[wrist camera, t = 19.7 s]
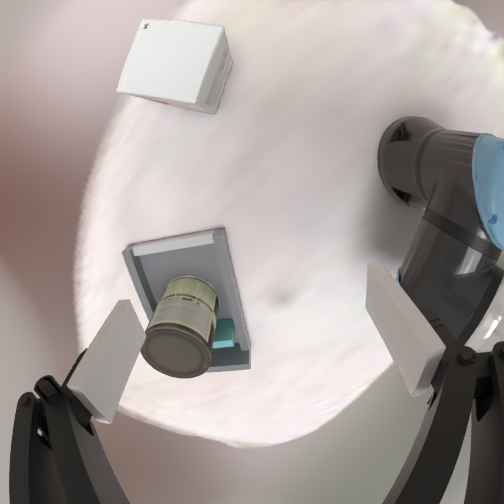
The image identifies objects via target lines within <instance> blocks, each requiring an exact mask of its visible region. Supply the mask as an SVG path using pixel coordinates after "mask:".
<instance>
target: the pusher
mask: <svg viewBox="0 0 504 504" xmlns="http://www.w3.org/2000/svg"><path fill="white" fill-rule="evenodd" d="M234 336H235V326H234V322H233V319H227V320H218V321H217V322H216V328H215V334H214V341H213V347H212V348H222V347H232V346H234Z"/></svg>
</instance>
